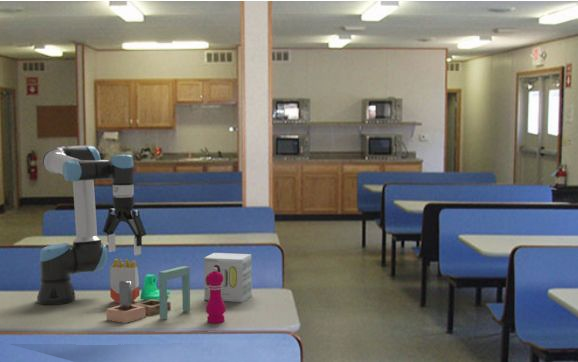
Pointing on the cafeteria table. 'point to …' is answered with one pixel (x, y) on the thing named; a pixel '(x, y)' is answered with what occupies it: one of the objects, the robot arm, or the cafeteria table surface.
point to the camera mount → (151, 288)
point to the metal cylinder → (125, 295)
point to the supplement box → (230, 275)
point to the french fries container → (123, 278)
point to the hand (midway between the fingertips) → (124, 253)
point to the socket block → (152, 306)
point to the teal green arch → (163, 278)
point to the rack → (125, 314)
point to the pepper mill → (215, 298)
